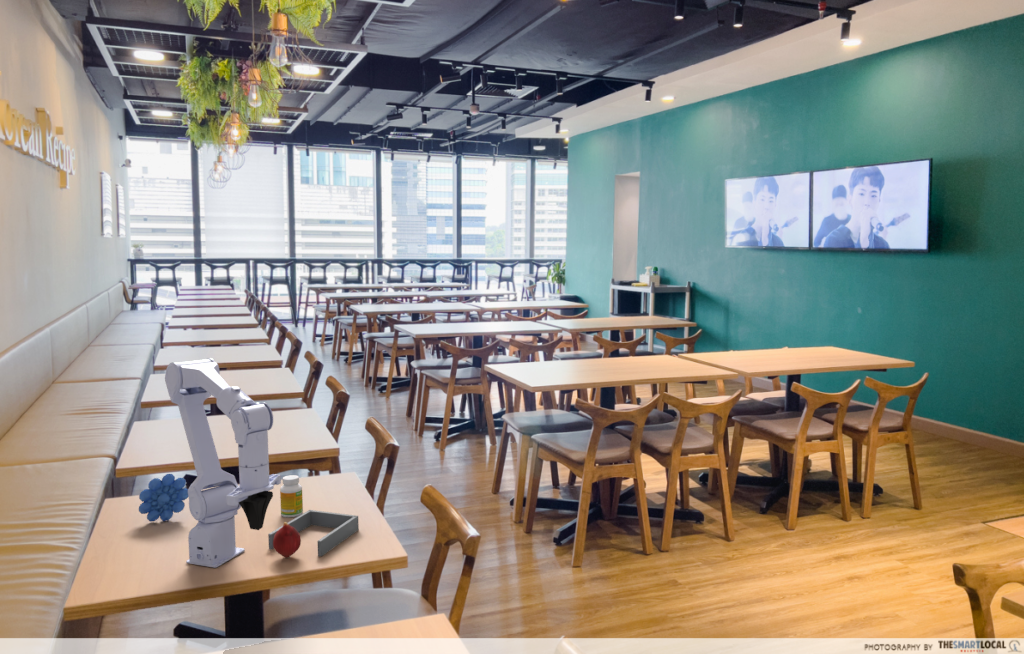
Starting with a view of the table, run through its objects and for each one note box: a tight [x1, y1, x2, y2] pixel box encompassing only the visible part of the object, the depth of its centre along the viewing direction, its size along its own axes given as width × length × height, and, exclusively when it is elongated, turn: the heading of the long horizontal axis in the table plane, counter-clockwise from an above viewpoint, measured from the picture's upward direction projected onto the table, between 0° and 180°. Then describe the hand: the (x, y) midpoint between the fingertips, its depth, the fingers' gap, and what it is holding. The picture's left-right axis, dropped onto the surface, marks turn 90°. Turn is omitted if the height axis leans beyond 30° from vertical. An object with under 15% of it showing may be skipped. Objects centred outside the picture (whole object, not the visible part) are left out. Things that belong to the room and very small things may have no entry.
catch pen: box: [267, 509, 360, 557], centre depth 165 cm, size 16×14×4 cm
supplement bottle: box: [279, 474, 304, 518], centre depth 181 cm, size 5×5×10 cm
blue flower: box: [138, 473, 189, 523], centre depth 177 cm, size 12×7×12 cm, turn 111°
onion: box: [273, 521, 302, 559], centre depth 155 cm, size 6×6×8 cm
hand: (256, 528), depth 145 cm, fingers closed
